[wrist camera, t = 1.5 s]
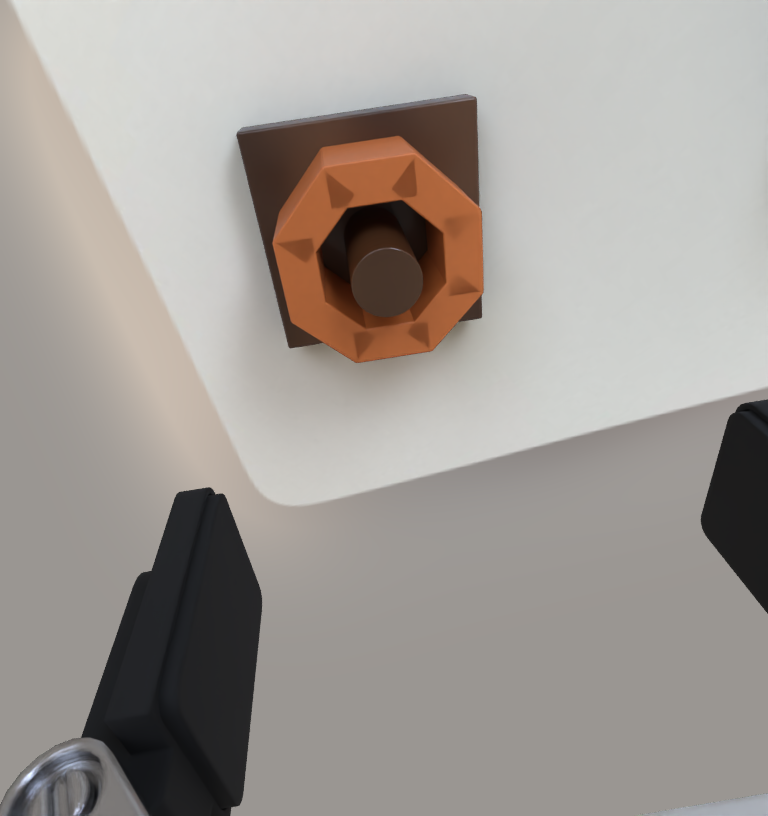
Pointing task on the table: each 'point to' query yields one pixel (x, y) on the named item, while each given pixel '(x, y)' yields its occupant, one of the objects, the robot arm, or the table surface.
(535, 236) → the table surface
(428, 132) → the stand
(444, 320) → the ring
